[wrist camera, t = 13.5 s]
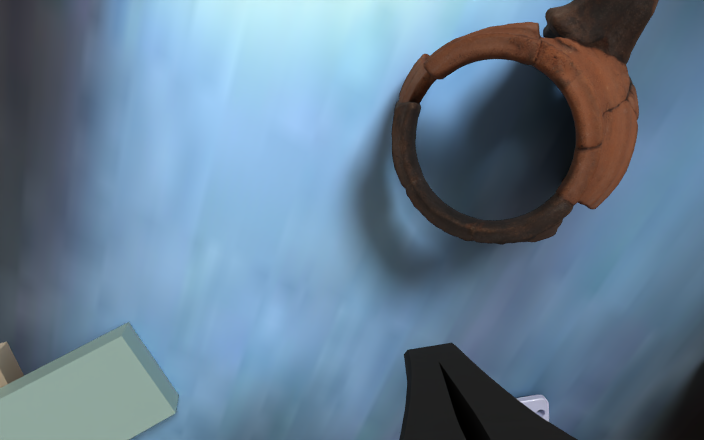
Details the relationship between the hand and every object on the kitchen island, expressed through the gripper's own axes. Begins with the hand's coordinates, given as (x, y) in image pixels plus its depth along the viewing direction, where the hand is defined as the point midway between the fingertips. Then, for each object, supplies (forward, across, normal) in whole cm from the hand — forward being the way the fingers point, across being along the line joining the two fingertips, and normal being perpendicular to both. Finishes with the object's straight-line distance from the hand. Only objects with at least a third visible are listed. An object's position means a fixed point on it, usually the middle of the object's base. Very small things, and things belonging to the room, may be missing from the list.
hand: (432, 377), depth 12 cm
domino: (+10, +13, +4) cm, 16 cm away
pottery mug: (+11, -7, -6) cm, 14 cm away
